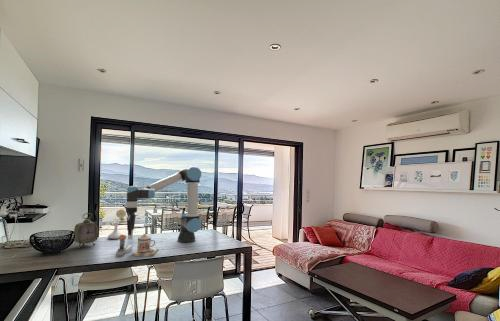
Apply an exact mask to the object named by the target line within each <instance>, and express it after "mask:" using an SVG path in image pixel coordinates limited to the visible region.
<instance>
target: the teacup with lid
mask: <svg viewBox="0 0 500 321" xmlns="http://www.w3.org/2000/svg"><path fill="white" fill-rule="evenodd" d="M151 242H153V244H152V245H151ZM155 244H156V241H155V240H154V239H152V237H151V236H149V235H147V233H143V235H141V236H139V237H137V247H136V250H137V251H138V252H148V251H150V248H153V247H154V246H155Z"/></svg>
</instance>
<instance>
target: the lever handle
mask: <svg viewBox="0 0 500 321" xmlns="http://www.w3.org/2000/svg"><path fill="white" fill-rule="evenodd" d="M118 239H119V248H118V249H117V251H124V250H126V248H124V246H125V243H126V242H125V241H126V239H127V235H126V234H124V233H121V235H120V236H119V238H118Z"/></svg>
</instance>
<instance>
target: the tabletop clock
mask: <svg viewBox="0 0 500 321" xmlns="http://www.w3.org/2000/svg"><path fill="white" fill-rule="evenodd" d="M86 215H91V216H89V217H88V216H86ZM85 216H86V217H85ZM92 217H93V213H91V212H86V213H83V214H82V218H83V219H84V220H83V221H82V222H78V223H77V224H75V226H74V229H73V234H74V233H75V238H74V237H73V240H74V242H76V243H78V244H79V245H78V246H77V249H81V246H82V247H85V245H86V244H89V243H92V245H93V246H95V245H96V243H94V242H96V241H97V240H98V238H99V234H100V226H99V223H97V222H93V221H91V218H92ZM81 244H82V245H81Z"/></svg>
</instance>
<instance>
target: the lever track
mask: <svg viewBox="0 0 500 321" xmlns="http://www.w3.org/2000/svg"><path fill="white" fill-rule="evenodd" d="M124 248H126V250H124V251H118V250H116V251H115V257H125V256H126V255H127V254H128V253H130V252H131V251H132V250H133V245H129V244H128V245H125V244H124ZM125 254H126V255H125Z"/></svg>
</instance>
